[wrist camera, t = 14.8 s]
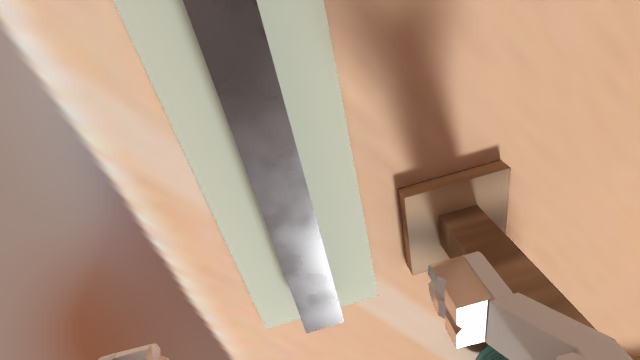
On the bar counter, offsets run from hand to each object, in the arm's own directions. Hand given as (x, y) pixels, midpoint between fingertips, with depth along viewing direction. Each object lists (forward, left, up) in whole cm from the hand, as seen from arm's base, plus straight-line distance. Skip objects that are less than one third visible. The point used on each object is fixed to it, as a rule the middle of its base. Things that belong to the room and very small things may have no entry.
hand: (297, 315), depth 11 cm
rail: (0, 0, -14) cm, 14 cm away
